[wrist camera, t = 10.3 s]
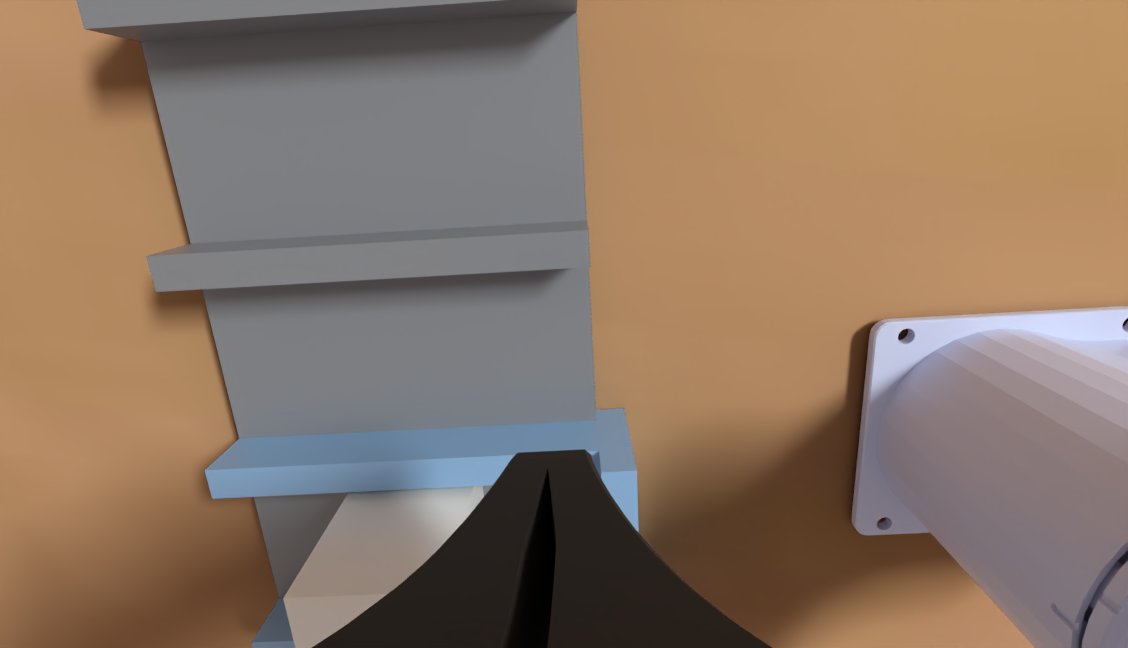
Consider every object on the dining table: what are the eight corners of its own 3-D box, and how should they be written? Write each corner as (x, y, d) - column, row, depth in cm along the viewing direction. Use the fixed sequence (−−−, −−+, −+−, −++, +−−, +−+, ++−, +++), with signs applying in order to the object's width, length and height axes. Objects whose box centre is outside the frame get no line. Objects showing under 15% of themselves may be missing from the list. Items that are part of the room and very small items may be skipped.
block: (480, 462, 20) (444, 591, 15) (491, 561, 21) (463, 715, 16) (363, 468, 20) (283, 598, 15) (380, 566, 22) (313, 721, 16)
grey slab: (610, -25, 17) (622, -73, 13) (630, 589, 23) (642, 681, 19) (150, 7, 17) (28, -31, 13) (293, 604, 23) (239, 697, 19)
